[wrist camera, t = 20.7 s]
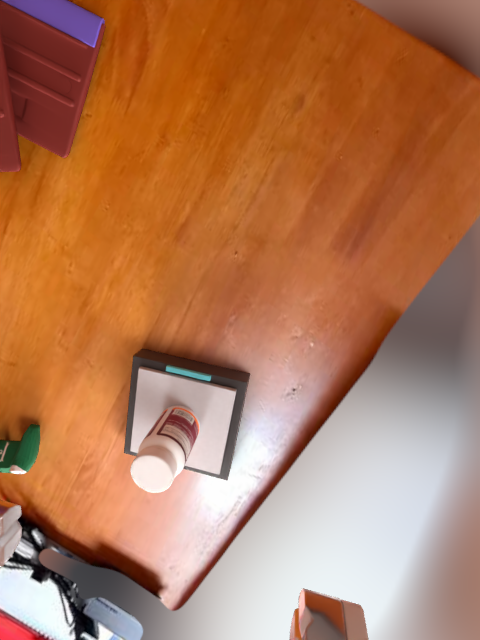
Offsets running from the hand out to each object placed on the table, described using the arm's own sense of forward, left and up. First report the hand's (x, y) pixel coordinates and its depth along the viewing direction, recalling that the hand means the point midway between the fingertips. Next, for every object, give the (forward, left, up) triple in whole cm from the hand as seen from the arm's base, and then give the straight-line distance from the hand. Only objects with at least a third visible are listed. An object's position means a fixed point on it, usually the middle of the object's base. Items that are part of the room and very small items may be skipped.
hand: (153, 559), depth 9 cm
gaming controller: (+29, +25, -29) cm, 48 cm away
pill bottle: (+6, +14, -26) cm, 30 cm away
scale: (+6, +14, -29) cm, 33 cm away
